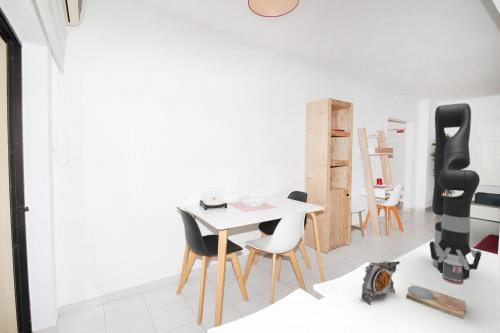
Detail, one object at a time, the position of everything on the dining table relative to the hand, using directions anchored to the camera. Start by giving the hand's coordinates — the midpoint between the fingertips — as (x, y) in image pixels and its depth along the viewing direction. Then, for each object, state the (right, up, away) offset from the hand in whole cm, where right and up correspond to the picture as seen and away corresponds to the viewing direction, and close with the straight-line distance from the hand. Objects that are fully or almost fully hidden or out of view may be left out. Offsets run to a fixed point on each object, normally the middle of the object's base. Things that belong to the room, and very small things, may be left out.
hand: (452, 275), depth 85 cm
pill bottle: (0, -2, 0) cm, 2 cm away
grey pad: (-6, -10, +7) cm, 14 cm away
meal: (-22, -11, +7) cm, 25 cm away
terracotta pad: (0, -10, +1) cm, 10 cm away
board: (-3, -11, +4) cm, 12 cm away
